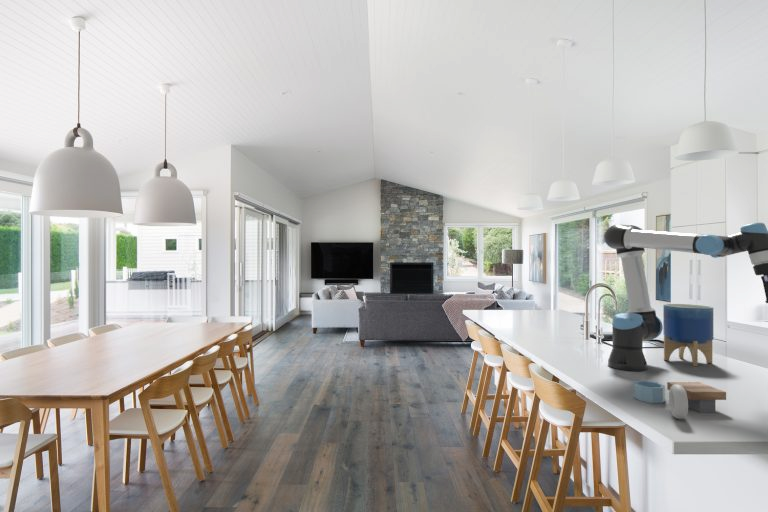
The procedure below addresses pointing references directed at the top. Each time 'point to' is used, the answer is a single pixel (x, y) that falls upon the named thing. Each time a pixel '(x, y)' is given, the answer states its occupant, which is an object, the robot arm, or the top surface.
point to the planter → (688, 330)
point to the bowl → (649, 391)
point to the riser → (702, 405)
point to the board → (700, 391)
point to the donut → (678, 401)
